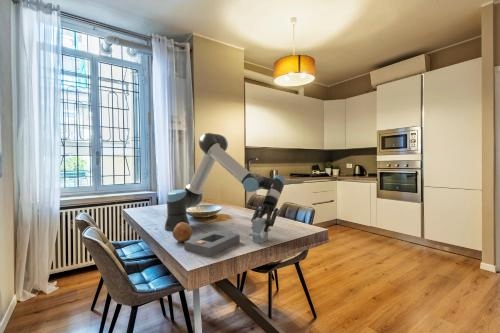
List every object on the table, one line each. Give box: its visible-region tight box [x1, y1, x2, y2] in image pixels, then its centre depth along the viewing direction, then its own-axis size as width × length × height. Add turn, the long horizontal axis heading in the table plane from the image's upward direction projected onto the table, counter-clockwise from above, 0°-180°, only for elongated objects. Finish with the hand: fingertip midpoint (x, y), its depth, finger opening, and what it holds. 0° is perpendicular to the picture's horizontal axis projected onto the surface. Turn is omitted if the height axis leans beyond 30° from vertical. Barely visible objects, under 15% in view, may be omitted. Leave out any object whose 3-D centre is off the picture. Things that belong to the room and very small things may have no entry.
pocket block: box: [183, 229, 241, 258], centre depth 121 cm, size 22×16×5 cm
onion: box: [172, 222, 193, 243], centre depth 129 cm, size 10×10×10 cm
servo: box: [248, 217, 271, 244], centre depth 127 cm, size 13×5×12 cm, turn 146°
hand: (256, 236), depth 124 cm, fingers closed on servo, 5 cm apart
